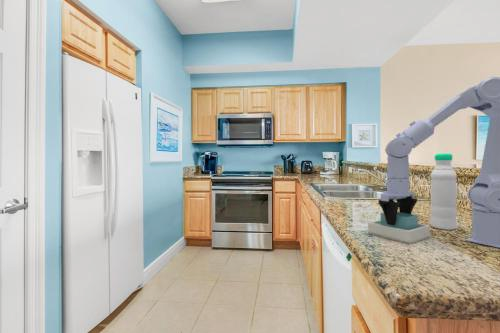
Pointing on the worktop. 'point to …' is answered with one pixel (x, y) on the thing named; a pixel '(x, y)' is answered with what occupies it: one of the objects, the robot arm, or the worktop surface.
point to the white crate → (399, 232)
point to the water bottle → (443, 194)
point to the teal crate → (402, 221)
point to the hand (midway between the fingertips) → (398, 222)
